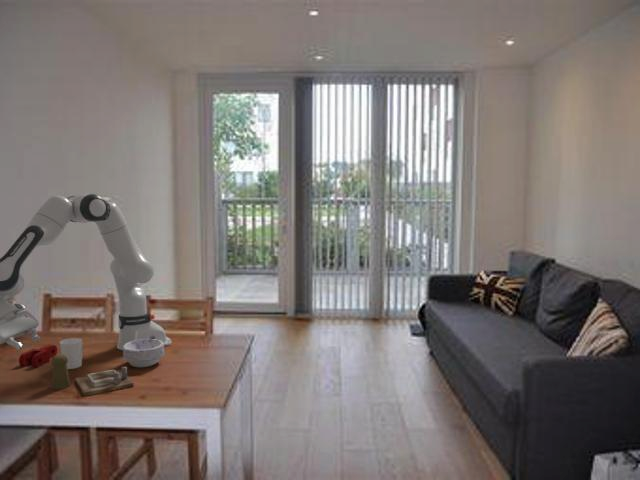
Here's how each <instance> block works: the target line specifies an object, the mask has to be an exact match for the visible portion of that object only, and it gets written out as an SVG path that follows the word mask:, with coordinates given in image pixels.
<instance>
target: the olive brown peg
mask: <svg viewBox="0 0 640 480" xmlns="http://www.w3.org/2000/svg"><path fill="white" fill-rule="evenodd" d="M50 362H51V365H52V366H53V369H52V377H51V389H53V390H63V389H68V388H70V387H71V380H70V375H69V369H67V362H68V357H67V356H66V355H61V354H56V356H54V357H53V358H51V361H50Z"/></svg>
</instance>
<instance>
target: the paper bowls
mask: <svg viewBox="0 0 640 480" xmlns="http://www.w3.org/2000/svg"><path fill="white" fill-rule="evenodd" d="M122 354H123V355H122V356H123V358H122V359H123V361H125V362H127V363H128V364H130V366H132V367H134V368H149V367H152V366H154V365H156V364H157V363H158V362H159V360H160V359H161V358H162V357H164V356H165V346H164V343H163V342H162V341H161V340H157V339H140V340H135V341H131V342H128V343H126V344H125V345H124V346H123V350H122Z"/></svg>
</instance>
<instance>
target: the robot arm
mask: <svg viewBox="0 0 640 480" xmlns="http://www.w3.org/2000/svg"><path fill="white" fill-rule="evenodd" d="M69 222H72V223H82V224H83V223H85V224H86V223H91V222H94V223H95V224H96V225H97V227H98V231H99V233H100V235H101V237H102V239H103V242H104V244H105V246H106V249H107V251H108V252H109V253H110V254H111V255H112V256H113V260H112V261H111V263H110V267H109V268H110V272H111V274H112V275H113V278H114V279H113V280H114V283H115V286H116V290H117V295H118V306H119V314H118V319H117V321H118V328H119V335H118V341H117V346H116V349H118V350H120V351H123V346H124V345H125V344H126V343H128V342H131V341H135V340H140V339H157V340H161V341H162V342H163V343H164V347H165V346H170V345H172V340H171V338H170V337H168V336H167V335H166V331H165V330H164V328H163V327H162V326H161V325H159V324H157V323H156V322H155V321H153V320H155V319H156V316H155V314H153V313H152V314H151V313H149V312H148V311H147V294H146V292H145V290H144V288H143V285H142V284H147V283H149V282H150V281H151V280H152V278H153V276H154V274H155V273H154V272H155V271H154V270H155V269H154V266H153V265H152V263H151V262H149V260H148V259H147V258H146V256H145V254H144V252H142V250H141V248H140V247H139V246H138V244H137V242H136V241H135V238H134V235H132V232H131V229H130V227H129V224H128V222H127V220H126V217H125V216H124V214H123V212H122V211H121V209H120V207H119V206H118V205H117V203H115V202H113V201H107V200H106V199H105V198H103V197H102V196H100V195H98V194H95V193H81V194H78V195H72V196H68V197H64V196H62V195H58V194H57V195H52V196H50V197H49V198H48V199H47V200H45V202H44V203H43V204H42V205H41V206H40V207H39V208H38V210H37V211H36V213H35V214H34V215H33V217H32V218H31V219H30V221H29V223H28V225H27V226H26V228H25V229H24V230H23V232H22V233H21V234H20V236H18V238H17V239H16V240H15V241H14V243H13V244H12V245H11V246H10V248H9V249H8V250H7V251H6V252H5V254H4V255H3V256H2V257H0V345H3V344H5V343H6V344H7V345H9V346H11V347H13V348H15V349H16V350H17V351H18V350H21V349H22V348H23V347H24V344H22V342H21V341H19V342H18V341H17V340H15V339H17V338H19V337H21V336H23V335H26V334H29V335H31V339H32V341H33V342H38V341H39V340H40V339H41V337H40V336H39V335H38V332H37V327H39V325H40V323H39V322H40V321H39V320H38V319H37V317H35V315H33V314H32V313H31V311H29V310H27V309H25V308H26V306H25V305H24V304H22V303H12V302H9V301H8V300H9V299H11V298H12V297H15V296H16V295H18V294H19V293H20V292H22V290H23V289H24V286H25V280H24V277H23V276H22V274H21V268H22V266H23V264H24V263H25V262H26V260H28V258H29V257H30V255H31V254H32V252H34V250H35V249H37V248H38V247H39V246H48V245H50V244H52V243H54V241H56V240H57V239H58V237H59V236H60V235H61V233H62V232H63V231H64V229H65V227H66V226H67V224H68V223H69Z"/></svg>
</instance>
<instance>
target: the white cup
mask: <svg viewBox="0 0 640 480" xmlns="http://www.w3.org/2000/svg"><path fill="white" fill-rule="evenodd" d="M59 348H60V355H66V356H67V357H68V362H67V369H68V370H74V369H78V368H81V367H82V365H83V339H82V338H80V337H79V338H78V337H71V338H66V339H62V340H61V341H59Z"/></svg>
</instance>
